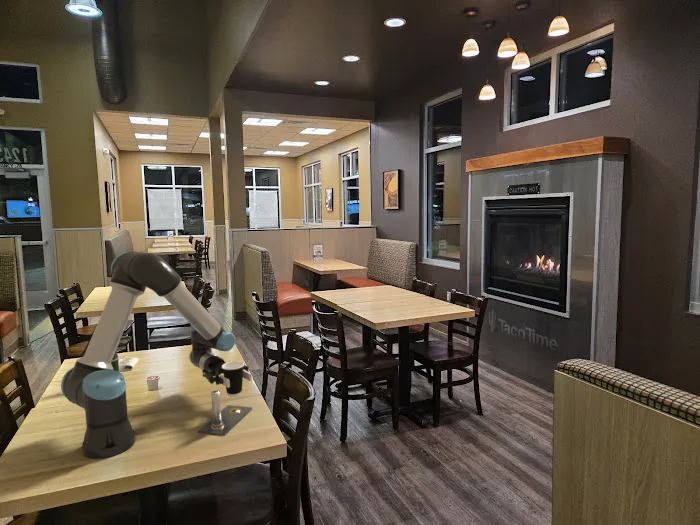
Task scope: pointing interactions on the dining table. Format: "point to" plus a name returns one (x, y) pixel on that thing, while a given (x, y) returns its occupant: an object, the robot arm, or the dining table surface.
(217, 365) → the robot arm
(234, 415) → the plate
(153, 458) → the dining table surface
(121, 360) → the folded newspaper
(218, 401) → the post
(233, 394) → the dixie cup
